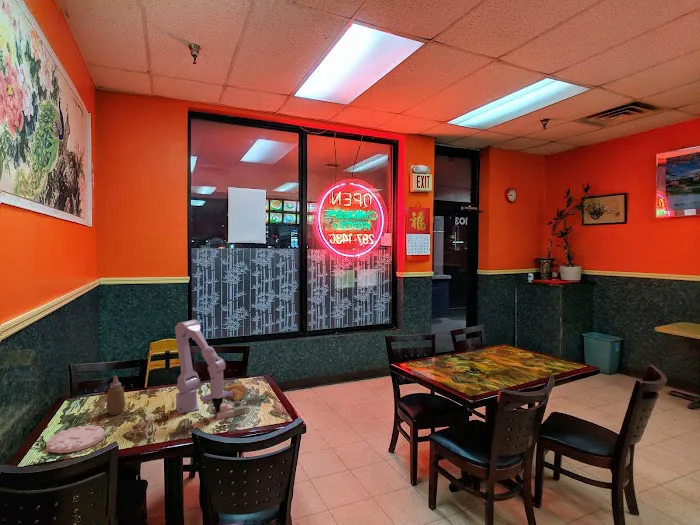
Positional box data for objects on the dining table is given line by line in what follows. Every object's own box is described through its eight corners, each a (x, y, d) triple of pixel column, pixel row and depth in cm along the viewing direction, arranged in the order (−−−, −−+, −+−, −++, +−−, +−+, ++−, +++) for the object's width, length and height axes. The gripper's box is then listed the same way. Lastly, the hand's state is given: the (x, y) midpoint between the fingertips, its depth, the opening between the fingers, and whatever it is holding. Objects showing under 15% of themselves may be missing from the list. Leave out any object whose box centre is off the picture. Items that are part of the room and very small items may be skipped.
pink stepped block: (220, 416, 192) (220, 407, 192) (217, 412, 196) (217, 404, 196) (232, 413, 195) (233, 405, 195) (230, 410, 199) (230, 401, 199)
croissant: (242, 408, 210) (250, 394, 211) (225, 402, 206) (232, 387, 207) (238, 393, 230) (245, 381, 230) (222, 387, 226) (229, 374, 227)
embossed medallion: (68, 459, 154) (68, 451, 154) (34, 449, 161) (34, 441, 161) (115, 436, 172) (115, 429, 172) (83, 427, 179) (83, 421, 179)
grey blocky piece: (217, 419, 188) (217, 410, 188) (212, 412, 197) (212, 402, 197) (245, 413, 195) (245, 404, 195) (238, 406, 204) (238, 397, 203)
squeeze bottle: (116, 417, 190) (116, 379, 189) (102, 415, 192) (101, 378, 191) (129, 410, 198) (128, 374, 197) (115, 408, 200) (114, 373, 199)
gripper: (203, 390, 185) (203, 419, 186) (234, 384, 193) (234, 412, 193) (199, 385, 191) (199, 414, 192) (230, 380, 199) (230, 407, 199)
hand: (217, 413), depth 193 cm, fingers closed
